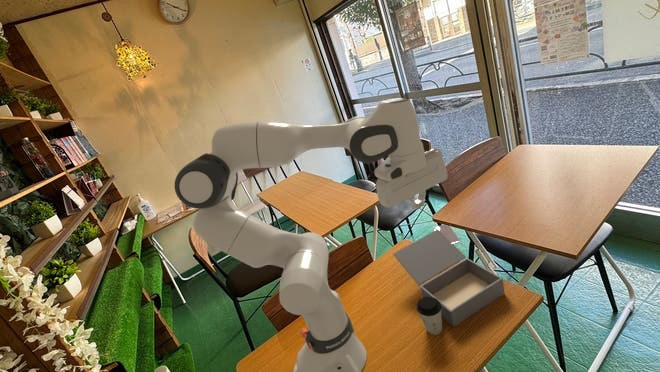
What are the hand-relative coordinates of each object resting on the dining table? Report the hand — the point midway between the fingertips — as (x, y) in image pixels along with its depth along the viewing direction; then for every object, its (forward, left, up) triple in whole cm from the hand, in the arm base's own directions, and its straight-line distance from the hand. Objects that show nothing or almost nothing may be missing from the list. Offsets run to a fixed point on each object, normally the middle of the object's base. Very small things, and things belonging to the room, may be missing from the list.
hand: (418, 207), depth 84 cm
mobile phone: (+28, +30, -38) cm, 56 cm away
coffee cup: (-6, -4, -37) cm, 38 cm away
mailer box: (+8, 0, -37) cm, 38 cm away
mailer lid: (+8, +14, -28) cm, 32 cm away
